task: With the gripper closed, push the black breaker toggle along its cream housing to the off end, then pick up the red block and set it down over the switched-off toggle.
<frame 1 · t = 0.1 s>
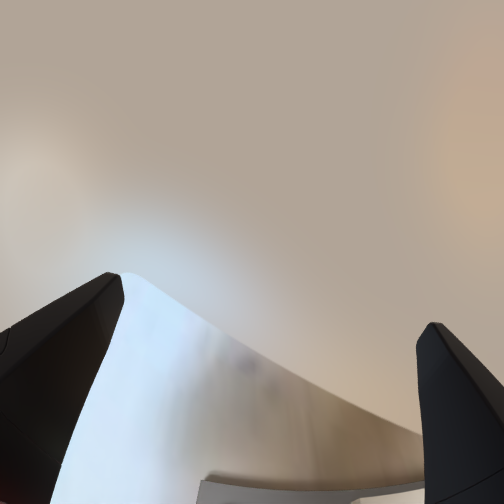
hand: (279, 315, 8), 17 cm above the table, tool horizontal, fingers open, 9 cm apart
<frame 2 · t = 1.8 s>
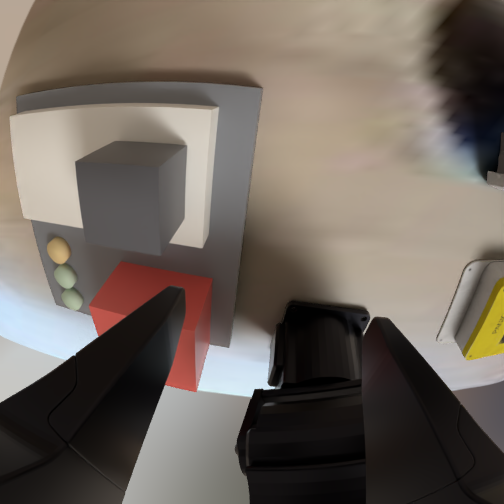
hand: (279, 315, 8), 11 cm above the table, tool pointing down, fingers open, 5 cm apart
red block: (166, 305, 22), point 1 cm above the table, touching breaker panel
breaker toggle: (134, 192, 13), point 5 cm above the table, slide at 0.0 cm
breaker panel: (123, 220, 20), on the table
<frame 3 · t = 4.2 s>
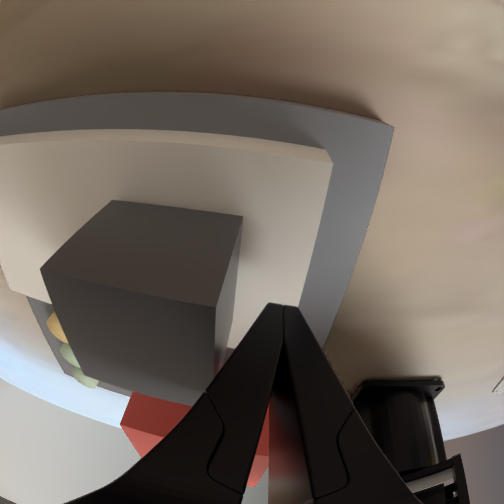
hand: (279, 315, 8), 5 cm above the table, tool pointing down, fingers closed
red block: (213, 393, 17), point 1 cm above the table, touching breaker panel
breaker toggle: (154, 302, 8), point 5 cm above the table, slide at 1.1 cm, touching gripper
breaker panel: (151, 296, 14), on the table
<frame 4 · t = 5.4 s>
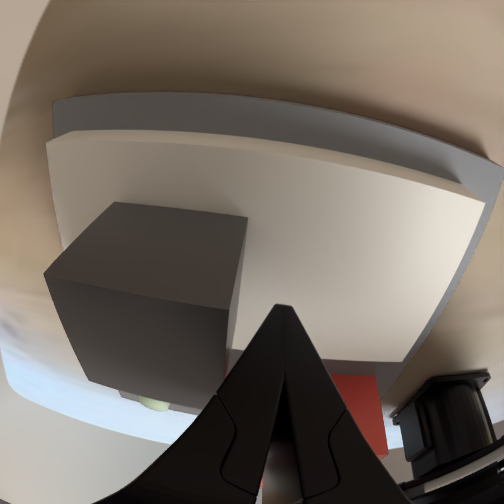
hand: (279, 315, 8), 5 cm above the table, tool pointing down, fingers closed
red block: (301, 403, 16), point 1 cm above the table, touching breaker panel
breaker toggle: (160, 305, 8), point 5 cm above the table, slide at 6.3 cm, touching gripper
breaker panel: (256, 315, 14), on the table
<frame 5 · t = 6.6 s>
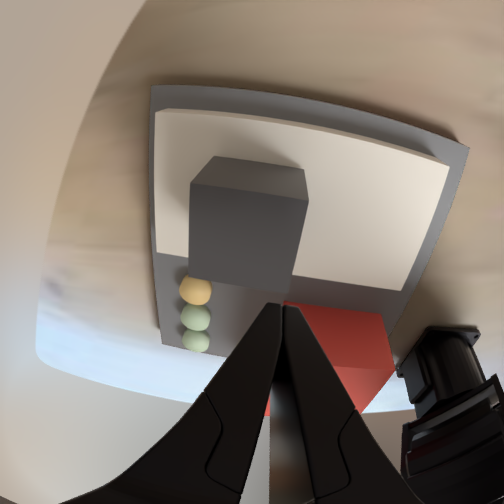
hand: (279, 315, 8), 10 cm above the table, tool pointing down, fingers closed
red block: (320, 341, 21), point 1 cm above the table, touching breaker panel
breaker toggle: (248, 220, 12), point 5 cm above the table, slide at 6.1 cm
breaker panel: (290, 256, 19), on the table
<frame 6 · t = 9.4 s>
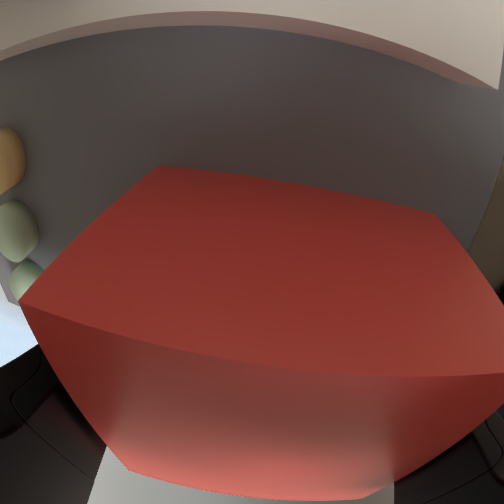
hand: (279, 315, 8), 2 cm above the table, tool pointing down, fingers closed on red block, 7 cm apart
red block: (280, 300, 8), point 1 cm above the table, touching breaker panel, gripper
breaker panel: (178, 57, 6), on the table
when the fingers open (5 cm above the table, at t = 14.2 s): red block drops 1 cm, resting on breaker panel.
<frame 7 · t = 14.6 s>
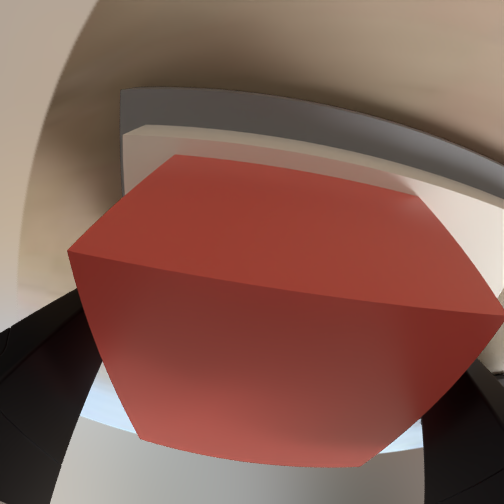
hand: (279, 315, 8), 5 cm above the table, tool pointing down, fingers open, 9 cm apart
red block: (281, 276, 9), point 3 cm above the table, touching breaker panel
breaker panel: (317, 321, 14), on the table
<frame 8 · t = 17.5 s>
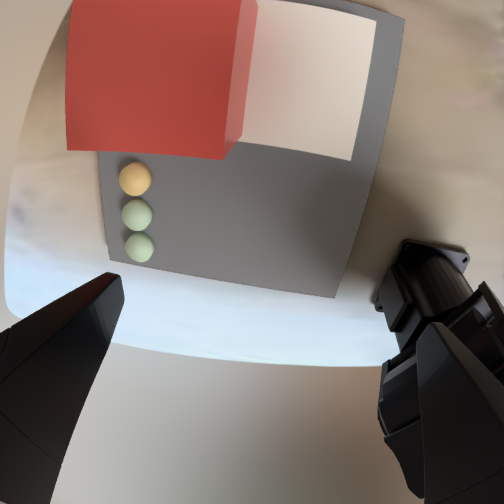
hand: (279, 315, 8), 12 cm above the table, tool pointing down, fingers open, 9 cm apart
red block: (181, 65, 13), point 3 cm above the table, touching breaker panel
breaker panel: (231, 141, 17), on the table
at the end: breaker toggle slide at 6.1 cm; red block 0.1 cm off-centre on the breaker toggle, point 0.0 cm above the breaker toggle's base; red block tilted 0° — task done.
